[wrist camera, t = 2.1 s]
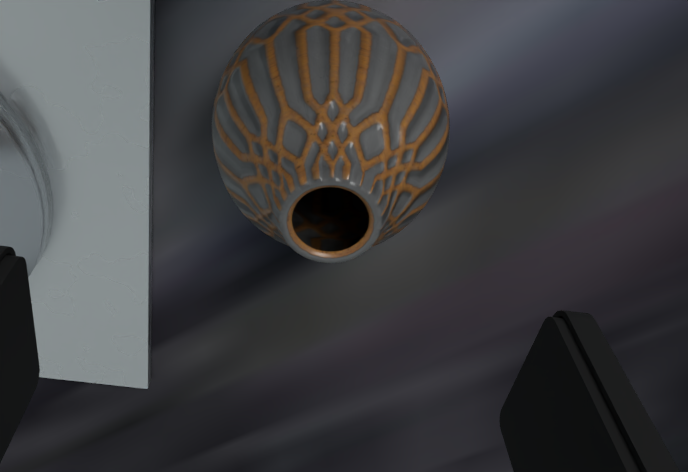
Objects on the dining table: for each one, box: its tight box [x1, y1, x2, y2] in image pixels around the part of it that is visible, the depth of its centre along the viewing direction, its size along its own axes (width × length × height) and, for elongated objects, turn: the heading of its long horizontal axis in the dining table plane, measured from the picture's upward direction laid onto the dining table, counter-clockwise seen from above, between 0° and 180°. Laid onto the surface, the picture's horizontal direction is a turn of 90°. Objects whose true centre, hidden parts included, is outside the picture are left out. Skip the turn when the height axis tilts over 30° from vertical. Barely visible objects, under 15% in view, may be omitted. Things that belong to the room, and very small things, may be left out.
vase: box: [212, 0, 450, 263], centre depth 18 cm, size 7×7×9 cm
